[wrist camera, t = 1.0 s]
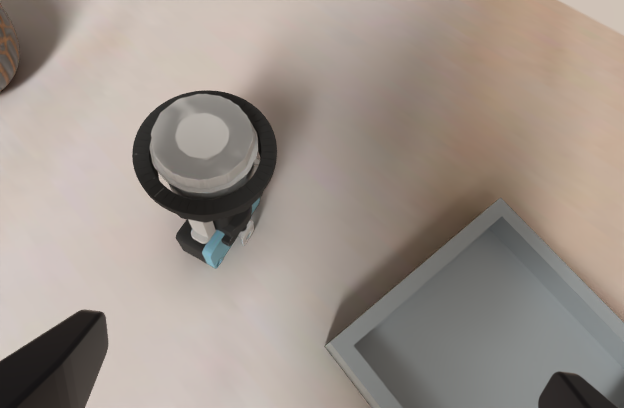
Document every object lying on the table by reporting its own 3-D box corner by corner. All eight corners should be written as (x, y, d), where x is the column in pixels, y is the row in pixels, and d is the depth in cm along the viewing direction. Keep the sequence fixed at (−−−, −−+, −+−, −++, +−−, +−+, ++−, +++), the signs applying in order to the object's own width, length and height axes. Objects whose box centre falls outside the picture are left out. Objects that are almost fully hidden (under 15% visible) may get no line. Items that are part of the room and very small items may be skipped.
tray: (500, 574, 20) (526, 596, 18) (324, 346, 23) (330, 342, 21) (650, 386, 24) (685, 386, 22) (482, 211, 27) (500, 197, 25)
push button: (224, 152, 27) (202, 30, 17) (301, 194, 26) (320, 90, 17) (158, 243, 24) (91, 156, 15) (241, 291, 24) (225, 232, 14)
